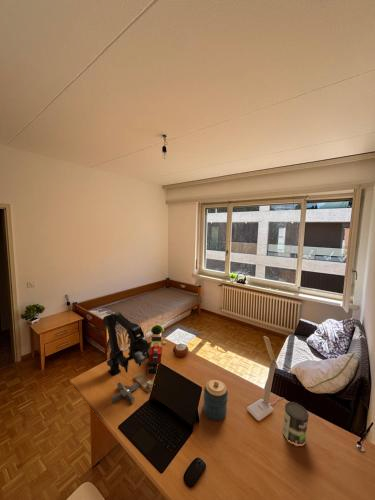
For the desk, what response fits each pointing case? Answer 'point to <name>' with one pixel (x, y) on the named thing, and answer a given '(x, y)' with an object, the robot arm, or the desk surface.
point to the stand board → (144, 382)
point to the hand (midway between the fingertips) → (133, 369)
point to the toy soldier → (154, 355)
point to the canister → (215, 400)
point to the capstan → (125, 392)
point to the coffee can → (295, 422)
